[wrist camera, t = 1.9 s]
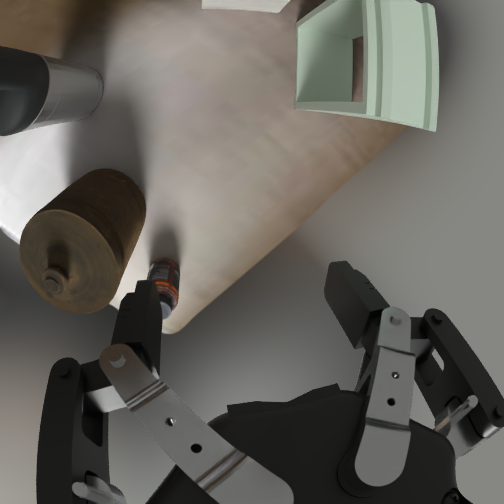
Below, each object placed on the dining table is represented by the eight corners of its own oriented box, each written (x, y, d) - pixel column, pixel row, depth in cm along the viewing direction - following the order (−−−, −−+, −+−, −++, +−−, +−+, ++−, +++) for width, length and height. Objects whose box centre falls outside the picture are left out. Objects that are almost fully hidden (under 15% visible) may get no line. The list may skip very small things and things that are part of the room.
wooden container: (80, 250, 44) (31, 332, 25) (64, 174, 37) (-13, 229, 18) (151, 245, 46) (128, 336, 28) (141, 163, 39) (93, 213, 20)
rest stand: (294, 109, 39) (372, 115, 20) (296, 22, 31) (368, -26, 12) (348, 115, 41) (441, 133, 22) (350, 34, 33) (439, 10, 14)
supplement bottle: (143, 264, 48) (132, 303, 38) (170, 252, 48) (164, 290, 38) (159, 287, 51) (153, 328, 41) (185, 276, 51) (184, 317, 41)
